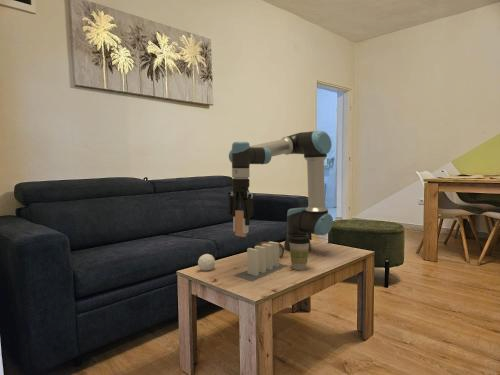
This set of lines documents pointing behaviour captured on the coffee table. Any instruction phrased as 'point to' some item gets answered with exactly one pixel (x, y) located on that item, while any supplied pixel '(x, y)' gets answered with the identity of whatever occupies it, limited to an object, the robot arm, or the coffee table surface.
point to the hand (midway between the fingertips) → (240, 231)
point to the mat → (252, 277)
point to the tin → (281, 248)
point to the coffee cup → (299, 251)
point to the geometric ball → (206, 262)
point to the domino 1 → (239, 223)
